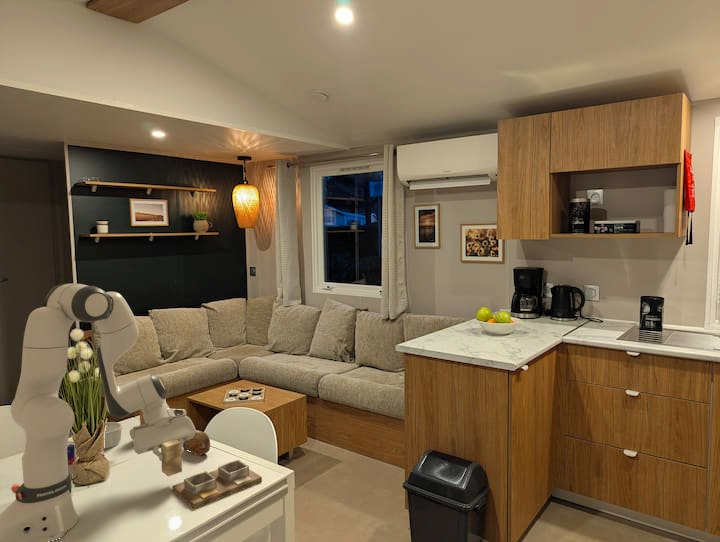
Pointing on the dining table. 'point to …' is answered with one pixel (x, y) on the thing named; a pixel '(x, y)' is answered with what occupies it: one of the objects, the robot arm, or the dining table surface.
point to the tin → (198, 443)
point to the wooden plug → (171, 457)
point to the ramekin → (112, 434)
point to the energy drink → (71, 457)
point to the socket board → (216, 483)
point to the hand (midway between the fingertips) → (172, 456)
